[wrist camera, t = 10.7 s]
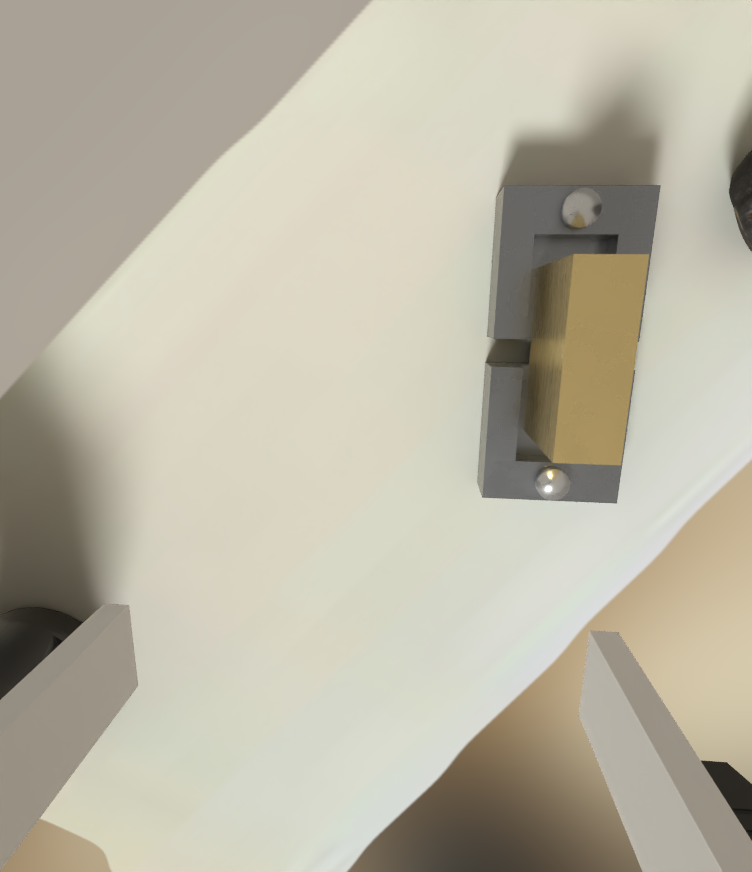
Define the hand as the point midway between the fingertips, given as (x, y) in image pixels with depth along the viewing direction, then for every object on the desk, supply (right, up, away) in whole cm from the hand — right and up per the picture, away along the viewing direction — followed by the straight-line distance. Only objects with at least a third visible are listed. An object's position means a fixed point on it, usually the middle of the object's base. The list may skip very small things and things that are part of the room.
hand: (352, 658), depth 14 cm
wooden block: (+14, +13, +23) cm, 30 cm away
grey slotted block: (+14, +13, +25) cm, 31 cm away
